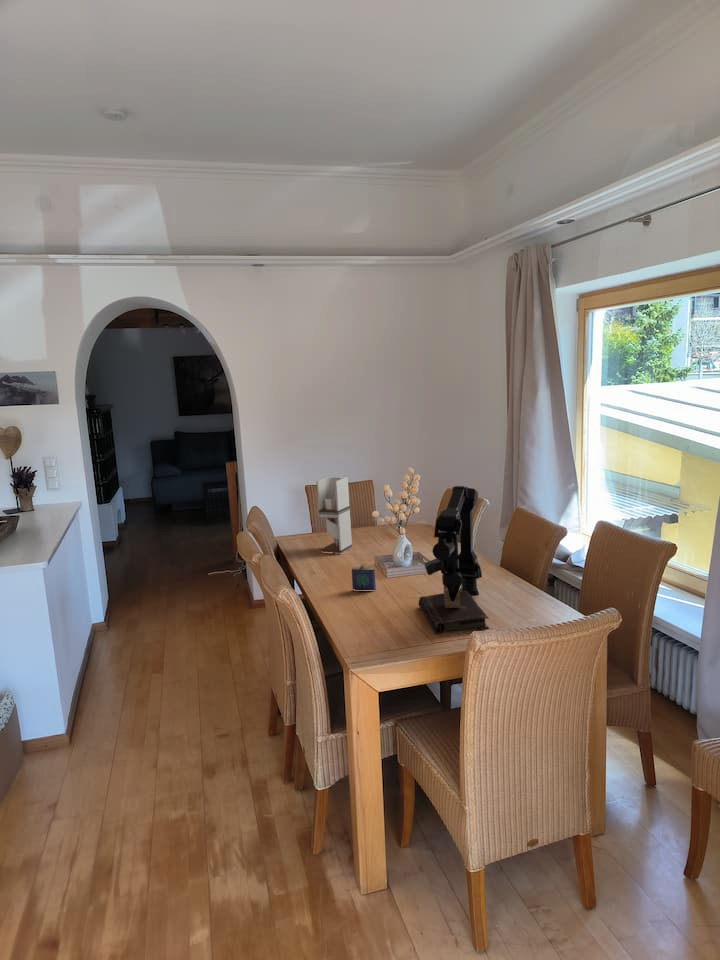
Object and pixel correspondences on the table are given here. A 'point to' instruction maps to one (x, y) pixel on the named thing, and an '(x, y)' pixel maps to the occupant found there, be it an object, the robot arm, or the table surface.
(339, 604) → the table surface
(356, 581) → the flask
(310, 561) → the table surface
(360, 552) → the table surface
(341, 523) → the display case
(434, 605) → the diary
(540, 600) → the table surface
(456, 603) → the metal block
